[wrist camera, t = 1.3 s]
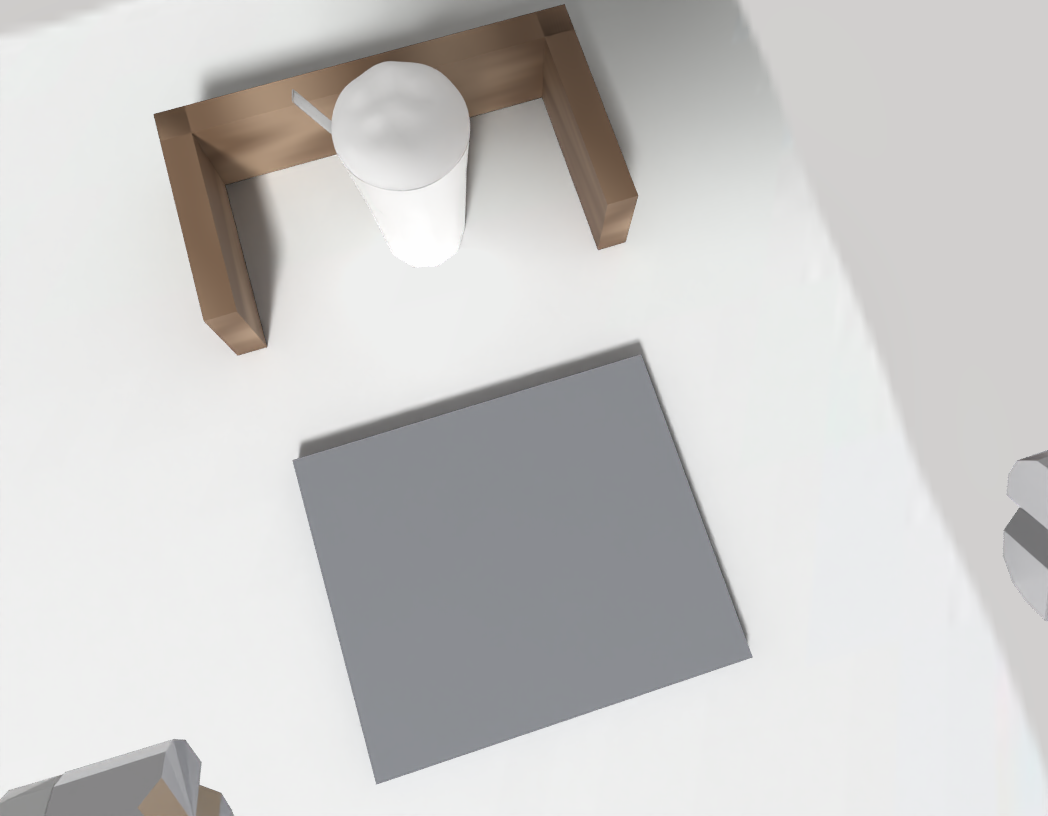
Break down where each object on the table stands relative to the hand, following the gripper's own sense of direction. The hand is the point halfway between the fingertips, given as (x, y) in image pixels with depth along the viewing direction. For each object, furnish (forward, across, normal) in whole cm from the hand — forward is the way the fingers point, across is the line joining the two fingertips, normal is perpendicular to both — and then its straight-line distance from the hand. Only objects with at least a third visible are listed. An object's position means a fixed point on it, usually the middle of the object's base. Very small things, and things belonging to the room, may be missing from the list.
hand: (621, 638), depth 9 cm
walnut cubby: (+31, 0, +5) cm, 31 cm away
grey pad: (+20, 0, +16) cm, 26 cm away
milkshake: (+30, 0, +6) cm, 31 cm away
